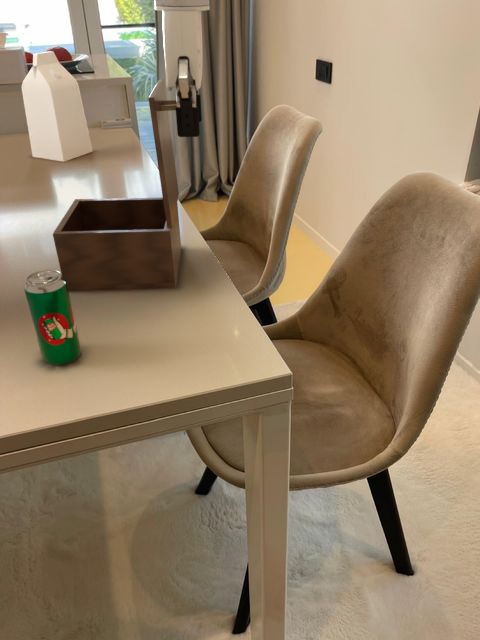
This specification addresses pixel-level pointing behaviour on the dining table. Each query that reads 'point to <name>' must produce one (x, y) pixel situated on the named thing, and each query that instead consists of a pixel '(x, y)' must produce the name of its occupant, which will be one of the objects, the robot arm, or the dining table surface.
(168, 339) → the dining table surface
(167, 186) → the lid
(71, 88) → the milk
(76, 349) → the soda can
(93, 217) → the brown wooden box
